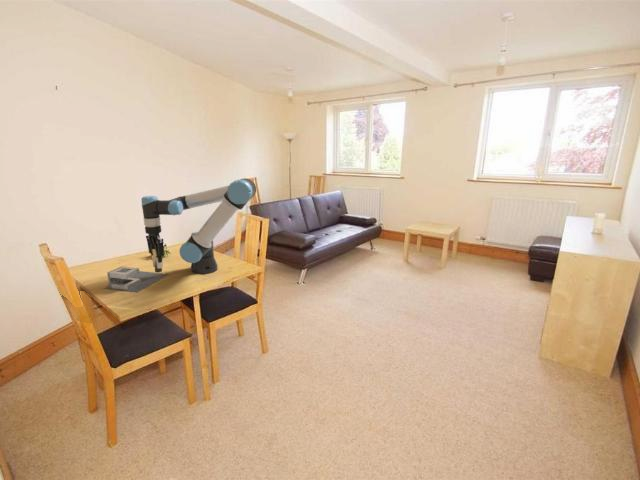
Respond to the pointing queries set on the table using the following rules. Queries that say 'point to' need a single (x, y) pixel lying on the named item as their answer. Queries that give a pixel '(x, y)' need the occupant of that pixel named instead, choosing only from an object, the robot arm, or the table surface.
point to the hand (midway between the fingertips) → (158, 266)
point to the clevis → (123, 278)
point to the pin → (155, 261)
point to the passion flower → (165, 250)
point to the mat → (143, 280)
